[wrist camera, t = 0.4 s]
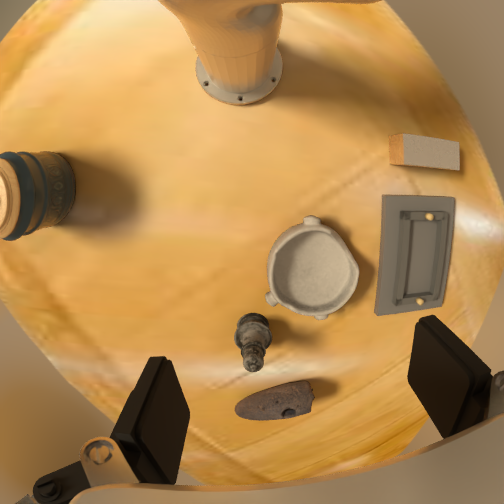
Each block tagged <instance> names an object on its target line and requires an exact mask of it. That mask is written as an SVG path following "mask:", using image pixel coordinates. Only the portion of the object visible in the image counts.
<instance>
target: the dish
mask: <svg viewBox="0 0 504 504" xmlns="http://www.w3.org/2000/svg"><path fill="white" fill-rule="evenodd" d="M320 222H321V219H320V218H318V217H316V216H313V215H309V216H306V217H304V218H303V223H301V224H297V225H295V226H293V227H291V228H289V229H287V230H286V231H285V232H283V233H282V234H281V235H280V236H279V237H278V239H277V240H276V241H275V243H274V244H273V246H272V248H271V250H270V253H269V256H268V262H267V277H268V283H269V287H270V290H271V291H270V292H267V293H266V294H265V299H266V301H267V303H268V304H270V305H271V306H273V307H274V306H276V304H278V303H279V304H281V305H282V306H284V307H286V308H288V309H290V310H292V311H293V312H295V313H298V314H301V315H306V316H314V317H315V318H316V319H317V320H324V319H326V318H328V314H330V313H333V312H335V311H337V310H338V309H340V308H341V307H342V306H343V305H344V304H345V303H346V302H347V301H348V300H349V299H350V297H351V296H352V294H353V293H354V291H355V289H356V287H357V283H358V279H359V266H358V264H357V262H356V261H355V259H354V257H353V255H352V254H351V252H350V250H349V249H348V247H347V246H346V244H345V242H344V241H343V240H342V238H341V237H340V236H339V234H338V233H337V232H336V231H334V230H333V229H332V228H330V227H328V226H326V225H323V224H321V223H320Z"/></svg>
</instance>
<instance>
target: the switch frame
mask: <svg viewBox="0 0 504 504" xmlns="http://www.w3.org/2000/svg"><path fill="white" fill-rule="evenodd" d="M453 217H454V198H453V197H445V196H418V195H382V219H381V242H380V258H379V271H378V282H377V292H376V301H375V309H374V313H375V314H376V315H377V316H381V315H389V314H397V313H404V312H411V311H417V310H424V309H430V308H436V307H442V302H443V297H444V291H445V286H446V279H447V273H448V266H449V259H450V250H451V241H452V231H453Z"/></svg>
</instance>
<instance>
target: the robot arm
mask: <svg viewBox="0 0 504 504" xmlns="http://www.w3.org/2000/svg"><path fill="white" fill-rule="evenodd" d="M158 1H159V2H160V3H161V4H162V5H164V6H165V7H166V8H167V9H168V10H170V11H171V12H172V13H173V14H174V15H176V16H177V18H178V19H179V20H180V22H181V23H182V25H183V27H184V28H185V30H186V32H187V34H188V36H189V38H190V40H191V42H192V44H193V46H194V48H195V50H196V52H197V54H198V57H197V60H196V68H195V69H196V76H197V79H198V81H199V83H200V85H201V87H202V88H203V89H204V90H205V92H206V93H207V94H209V95H210V96H211V97H212V98H214V99H216V100H218V101H220V102H223V103H226V104H233V105H244V104H250V103H253V102H256V101H259V100H261V99H262V98H264V97H266V96H267V95H268V94H270V93H271V92H272V91H273V90H274V88H275V87H276V86H277V84H278V82H279V80H280V78H281V75H282V70H283V61H282V57H281V54H280V52H279V50H278V48H277V42H278V38H279V33H280V28H281V23H282V16H283V13H282V6H281V4H284V3H298V2H323V3H348V4H369V3H375V2H378V1H381V0H158ZM271 80H274V81H275V82H272V81H271ZM206 84H209V85H208V86H205V85H206ZM240 98H242V99H243V100H242V101H240V100H239V99H240ZM490 373H491V369H490V368H489V367H488V366H487V365H486V364H485V363H484V362H483V361H482V360H481V359H480V358H479V357H478V356H477V355H476V354H475V353H474V352H473V351H472V350H471V349H470V348H469V347H468V346H467V345H466V344H465V343H464V342H463V341H462V340H461V339H459V338H458V337H457V336H456V335H455V334H454V333H453V332H452V331H451V330H450V329H449V328H448V327H447V326H446V325H445V324H443V323H442V322H441V321H440V320H439V319H438V318H437V317H436V316H435V315H429V316H426V317H422V318H420V319H419V322H417V323H416V325H415V332H414V339H413V346H412V353H411V359H410V365H409V370H408V376H407V377H408V382H409V384H410V386H411V388H412V389H413V391H414V392H415V394H416V395H417V397H418V399H419V400H420V402H421V403H422V405H423V406H424V408H425V410H426V411H427V413H428V415H429V416H430V418H431V419H432V421H433V423H434V424H435V426H436V427H437V429H438V431H439V433H440V434H441V436H442V437H443V438H444V439H443V440H441V441H438V442H436V443H434V444H431V445H429V446H426V447H423V448H421V449H418V450H415V451H413V452H410V453H407V454H404V455H401V456H399V457H395V458H392V459H389V460H385V461H382V462H379V463H375V464H372V465H368V466H364V467H360V468H356V469H352V470H348V471H344V472H339V473H334V474H329V475H324V476H319V477H313V478H307V479H300V480H293V481H285V482H277V483H266V484H254V485H234V486H188V485H174V484H175V483H176V479H177V474H178V470H179V465H180V461H181V456H182V451H183V447H184V442H185V437H186V433H187V428H188V424H189V419H190V411H189V408H188V405H187V402H186V400H185V397H184V394H183V392H182V389H181V386H180V384H179V381H178V378H177V375H176V372H175V370H174V367H173V364H172V361H171V360H167V358H166V357H165V356H159V357H150V358H149V360H148V362H147V364H146V366H145V368H144V370H143V372H142V374H141V376H140V378H139V380H138V382H137V384H136V386H135V388H134V390H133V391H132V392H131V393H130V395H129V397H128V399H127V401H126V404H125V406H124V408H123V410H122V412H121V414H120V416H119V418H118V420H117V423H116V425H115V427H114V429H113V432H112V433H111V436H110V438H108V437H96V438H93V439H91V440H89V441H87V442H86V443H85V444H84V445H83V447H82V448H81V450H80V454H79V455H80V461H78V462H76V463H73V464H71V465H69V466H66V467H64V468H62V469H59V470H57V471H55V472H52V473H50V474H47V475H45V476H43V477H41V478H39V479H38V480H37V481H36V483H35V485H34V487H33V495H32V496H30V495H28V494H27V495H26V496H25V497H24V498H22V499H21V500H19V501H18V502H17V503H15V504H504V371H500V372H498V373H496V374H495V375H494V376H492V375H491V374H490Z"/></svg>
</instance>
